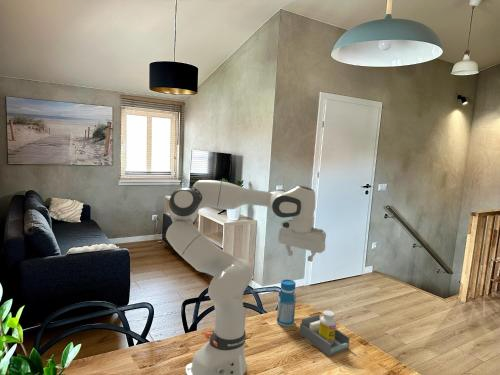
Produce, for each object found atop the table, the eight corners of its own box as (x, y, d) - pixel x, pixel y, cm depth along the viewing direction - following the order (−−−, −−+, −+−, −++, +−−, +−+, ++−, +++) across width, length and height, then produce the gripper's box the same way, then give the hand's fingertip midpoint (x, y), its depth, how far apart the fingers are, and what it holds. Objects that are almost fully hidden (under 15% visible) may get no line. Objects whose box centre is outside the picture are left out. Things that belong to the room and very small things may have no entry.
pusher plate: (311, 338, 146) (312, 324, 145) (308, 336, 147) (309, 323, 146) (326, 332, 151) (328, 320, 150) (324, 330, 152) (325, 318, 151)
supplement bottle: (328, 347, 140) (331, 318, 138) (315, 340, 144) (317, 312, 143) (337, 342, 144) (339, 313, 143) (324, 335, 149) (326, 307, 147)
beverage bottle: (283, 328, 154) (286, 286, 152) (273, 319, 162) (275, 279, 159) (297, 324, 159) (301, 284, 156) (287, 316, 166) (290, 277, 164)
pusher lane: (328, 356, 136) (330, 340, 135) (299, 334, 151) (300, 319, 150) (348, 348, 142) (350, 332, 141) (318, 327, 157) (319, 313, 156)
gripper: (329, 229, 135) (326, 262, 137) (285, 220, 147) (282, 250, 149) (323, 231, 130) (319, 266, 132) (277, 222, 142) (275, 253, 144)
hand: (299, 258), depth 140 cm, fingers open, 8 cm apart
